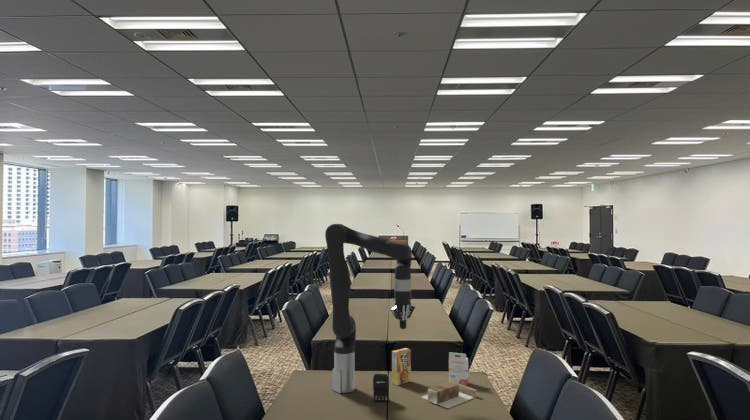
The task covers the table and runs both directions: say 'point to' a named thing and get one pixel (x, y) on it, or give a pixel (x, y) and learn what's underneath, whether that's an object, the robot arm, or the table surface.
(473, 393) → the birch lip
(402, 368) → the candy box
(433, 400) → the brown block
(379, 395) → the battery charger
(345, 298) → the robot arm
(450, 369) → the ink cartridge box
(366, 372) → the table surface
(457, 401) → the felt mat
